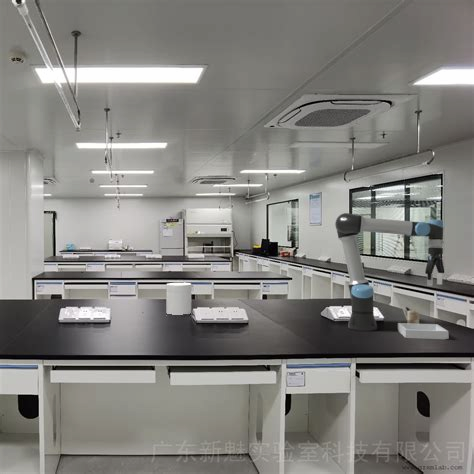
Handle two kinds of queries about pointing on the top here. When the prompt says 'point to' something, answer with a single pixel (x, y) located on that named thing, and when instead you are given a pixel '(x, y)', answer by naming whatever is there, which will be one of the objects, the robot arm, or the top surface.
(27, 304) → the top surface
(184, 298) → the canister
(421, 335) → the tray
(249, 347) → the top surface
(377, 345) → the top surface
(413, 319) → the tan cylinder
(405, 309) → the hinge
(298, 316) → the top surface
